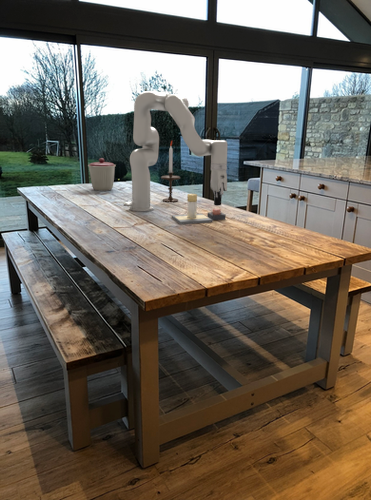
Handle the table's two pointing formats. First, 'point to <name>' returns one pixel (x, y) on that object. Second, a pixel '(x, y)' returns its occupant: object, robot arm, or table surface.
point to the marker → (191, 205)
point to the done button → (216, 211)
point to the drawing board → (191, 219)
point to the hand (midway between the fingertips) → (217, 205)
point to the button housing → (216, 216)
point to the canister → (102, 175)
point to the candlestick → (170, 178)
